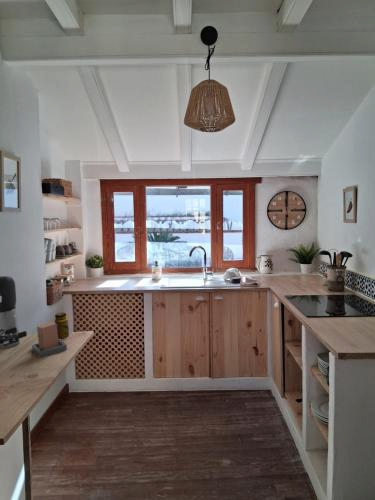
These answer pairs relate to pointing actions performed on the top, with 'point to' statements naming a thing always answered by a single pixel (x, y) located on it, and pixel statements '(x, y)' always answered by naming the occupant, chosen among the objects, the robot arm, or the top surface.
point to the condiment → (62, 325)
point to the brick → (47, 336)
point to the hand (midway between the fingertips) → (21, 331)
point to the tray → (40, 353)
